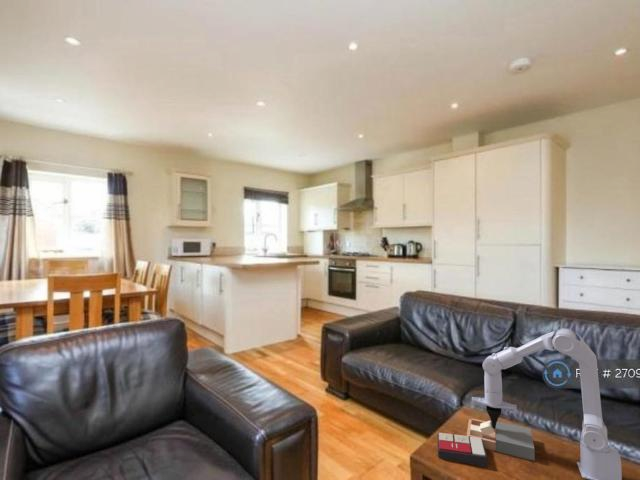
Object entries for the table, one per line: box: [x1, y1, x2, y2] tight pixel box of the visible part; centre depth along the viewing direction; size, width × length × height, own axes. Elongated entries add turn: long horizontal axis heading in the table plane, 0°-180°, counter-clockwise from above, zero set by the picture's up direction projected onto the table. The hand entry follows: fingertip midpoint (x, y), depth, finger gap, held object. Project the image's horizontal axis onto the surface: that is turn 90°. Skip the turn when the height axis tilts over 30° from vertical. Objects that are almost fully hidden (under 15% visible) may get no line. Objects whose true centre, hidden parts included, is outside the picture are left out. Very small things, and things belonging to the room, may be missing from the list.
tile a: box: [480, 419, 496, 436], centre depth 121 cm, size 4×4×2 cm
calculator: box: [437, 432, 488, 469], centre depth 113 cm, size 11×4×15 cm
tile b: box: [470, 424, 483, 438], centre depth 123 cm, size 4×4×2 cm
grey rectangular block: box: [495, 420, 536, 462], centre depth 118 cm, size 11×14×4 cm
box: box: [466, 417, 496, 452], centre depth 123 cm, size 9×14×3 cm, turn 152°
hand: (494, 427), depth 121 cm, fingers closed, pressing on tile a
